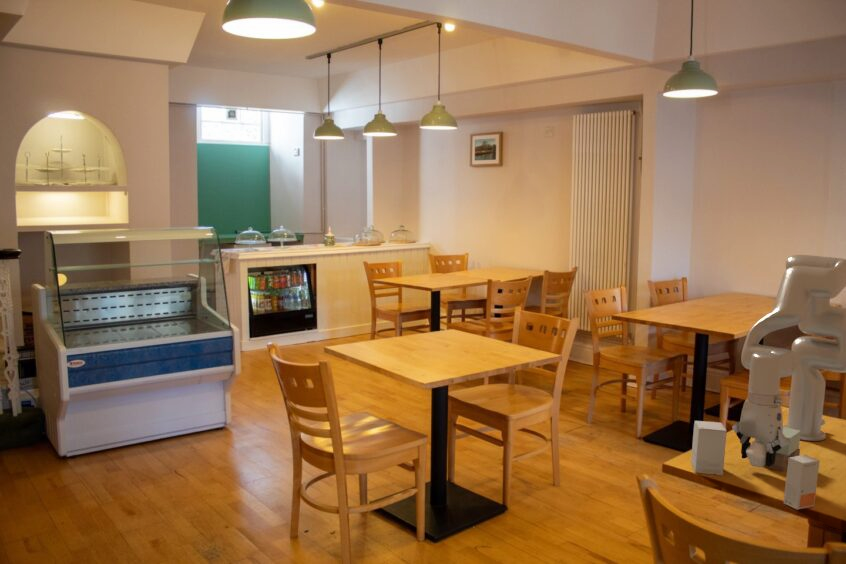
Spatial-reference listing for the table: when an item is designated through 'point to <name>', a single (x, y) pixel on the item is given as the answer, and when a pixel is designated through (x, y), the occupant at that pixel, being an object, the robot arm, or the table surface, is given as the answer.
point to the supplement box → (708, 447)
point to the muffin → (757, 453)
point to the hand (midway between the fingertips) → (757, 460)
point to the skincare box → (801, 482)
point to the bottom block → (783, 460)
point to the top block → (793, 440)
